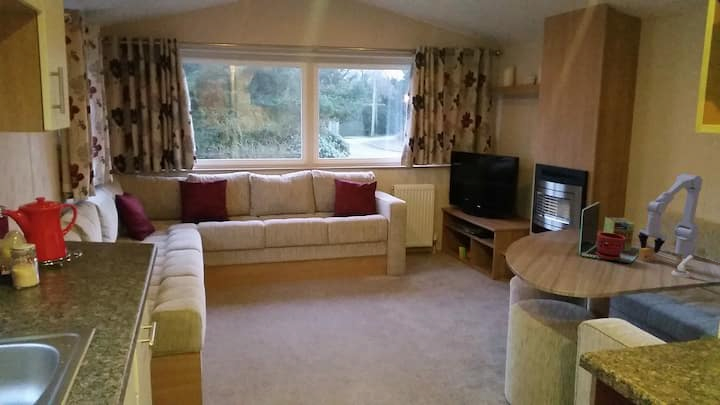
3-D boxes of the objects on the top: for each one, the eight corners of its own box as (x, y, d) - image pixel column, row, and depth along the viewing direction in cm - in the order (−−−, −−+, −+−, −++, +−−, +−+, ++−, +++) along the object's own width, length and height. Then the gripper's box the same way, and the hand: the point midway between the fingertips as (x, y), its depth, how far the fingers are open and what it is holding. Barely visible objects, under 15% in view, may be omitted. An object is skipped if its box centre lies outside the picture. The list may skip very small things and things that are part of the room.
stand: (645, 251, 288) (647, 241, 287) (684, 263, 268) (685, 253, 267) (638, 252, 286) (639, 242, 285) (676, 264, 266) (677, 254, 265)
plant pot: (611, 262, 264) (614, 239, 262) (589, 255, 276) (592, 232, 274) (628, 260, 270) (631, 237, 268) (606, 252, 282) (609, 231, 280)
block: (648, 258, 275) (650, 247, 274) (652, 259, 273) (654, 248, 272) (637, 259, 272) (639, 248, 271) (642, 260, 270) (643, 249, 269)
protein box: (610, 250, 287) (614, 222, 284) (601, 243, 302) (605, 216, 299) (630, 252, 286) (635, 224, 283) (620, 244, 301) (624, 217, 298)
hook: (706, 267, 245) (697, 260, 243) (685, 285, 248) (677, 278, 246) (695, 259, 252) (687, 252, 250) (675, 277, 255) (667, 269, 253)
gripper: (635, 221, 275) (631, 247, 278) (661, 228, 262) (656, 255, 264) (645, 221, 278) (641, 246, 280) (670, 227, 265) (666, 254, 267)
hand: (649, 250), depth 273 cm, fingers open, 7 cm apart
